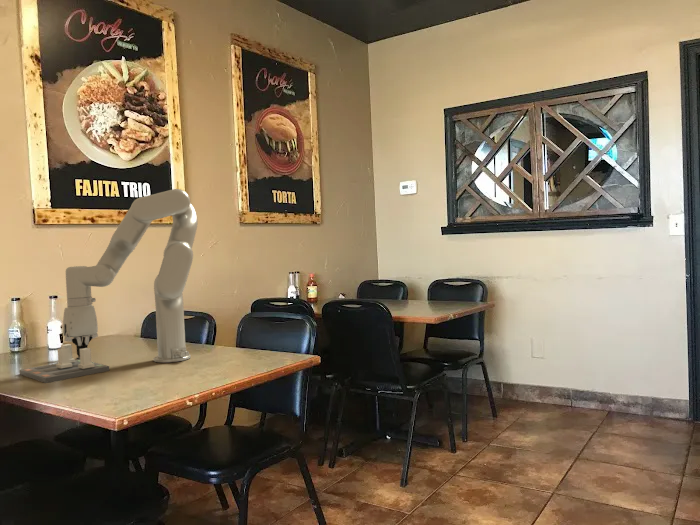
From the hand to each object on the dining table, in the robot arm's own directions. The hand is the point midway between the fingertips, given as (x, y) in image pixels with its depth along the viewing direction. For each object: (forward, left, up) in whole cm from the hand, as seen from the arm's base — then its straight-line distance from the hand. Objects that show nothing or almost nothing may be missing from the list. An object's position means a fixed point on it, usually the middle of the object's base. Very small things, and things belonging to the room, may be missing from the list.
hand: (82, 356), depth 198 cm
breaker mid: (0, +6, -2) cm, 7 cm away
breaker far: (+7, +2, -2) cm, 8 cm away
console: (0, +6, -4) cm, 7 cm away
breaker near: (-8, +2, -2) cm, 8 cm away
